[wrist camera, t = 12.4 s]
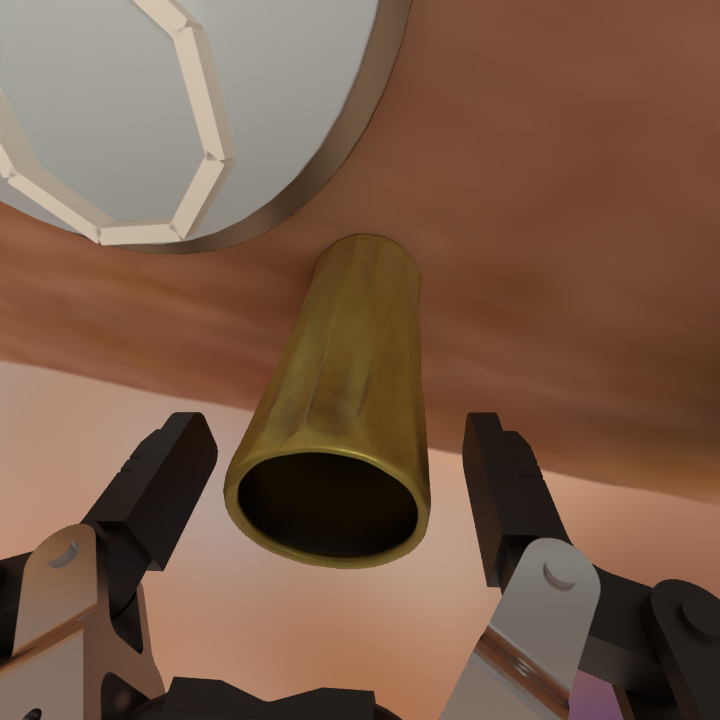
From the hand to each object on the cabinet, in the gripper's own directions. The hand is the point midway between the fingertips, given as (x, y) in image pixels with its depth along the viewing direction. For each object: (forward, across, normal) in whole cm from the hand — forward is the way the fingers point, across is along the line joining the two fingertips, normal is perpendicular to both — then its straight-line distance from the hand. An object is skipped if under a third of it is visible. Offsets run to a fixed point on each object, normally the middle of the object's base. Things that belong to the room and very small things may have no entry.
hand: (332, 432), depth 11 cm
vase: (+12, 0, 0) cm, 12 cm away
